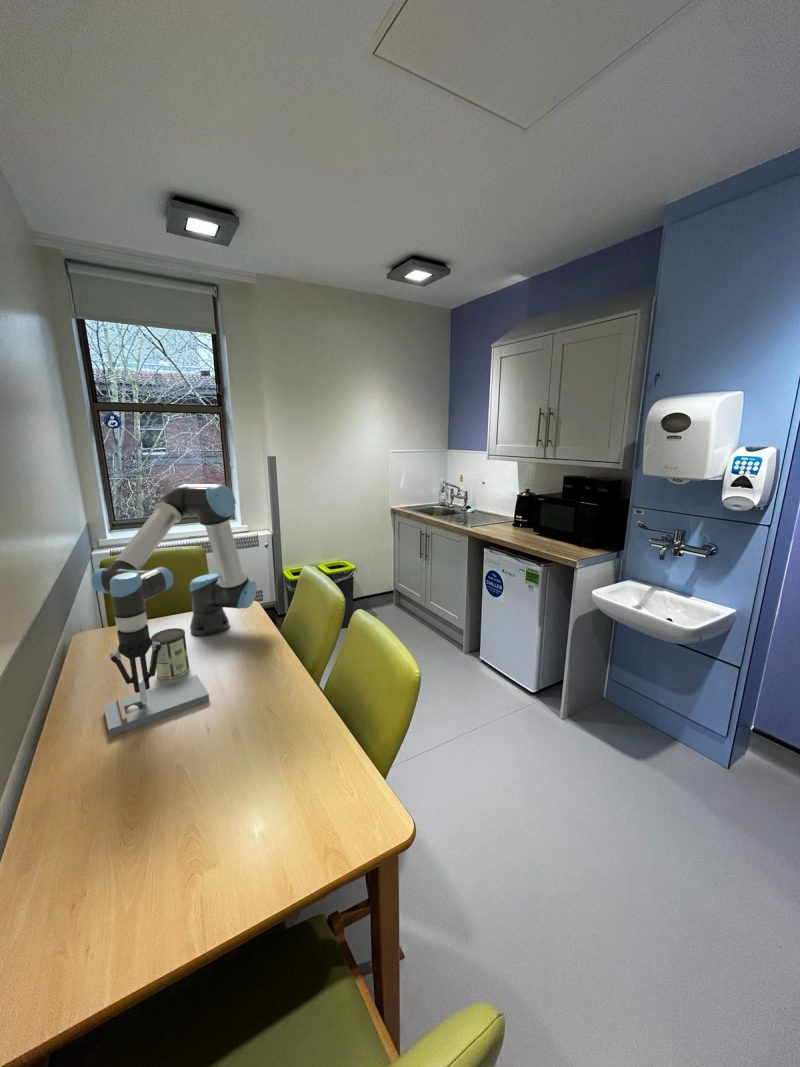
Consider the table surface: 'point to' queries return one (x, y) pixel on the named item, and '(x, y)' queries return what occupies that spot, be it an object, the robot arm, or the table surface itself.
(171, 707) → the deck
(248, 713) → the table surface
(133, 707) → the ball
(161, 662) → the coffee can
